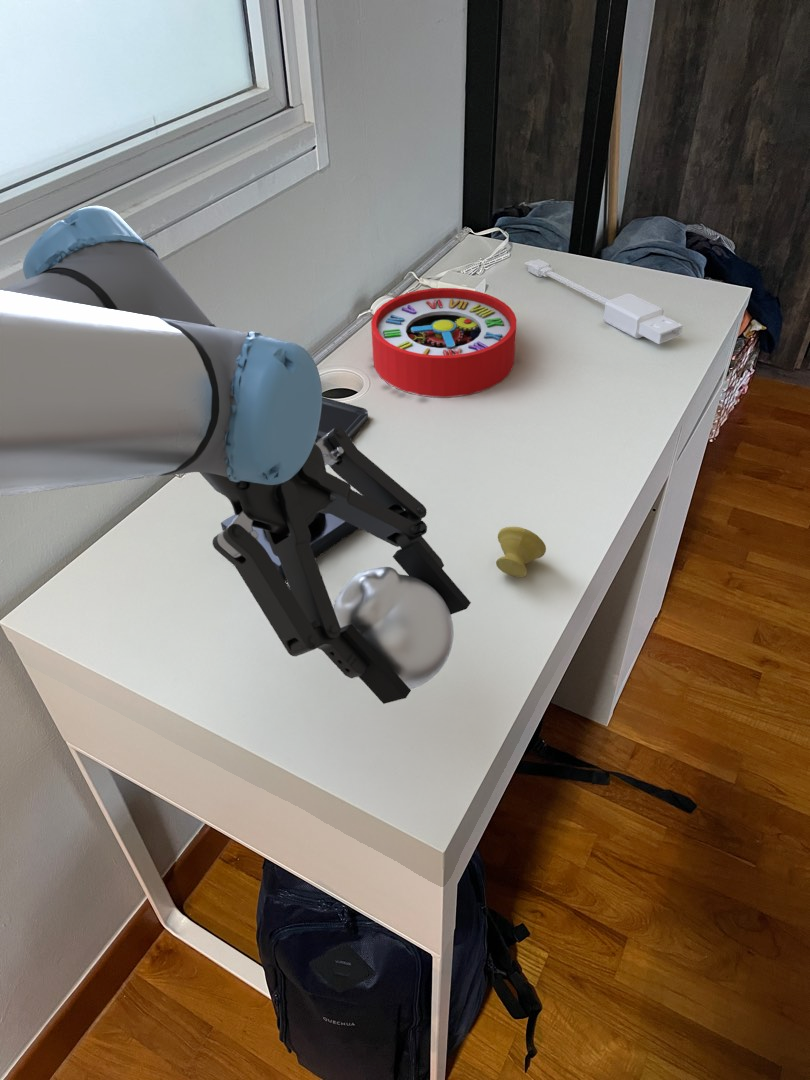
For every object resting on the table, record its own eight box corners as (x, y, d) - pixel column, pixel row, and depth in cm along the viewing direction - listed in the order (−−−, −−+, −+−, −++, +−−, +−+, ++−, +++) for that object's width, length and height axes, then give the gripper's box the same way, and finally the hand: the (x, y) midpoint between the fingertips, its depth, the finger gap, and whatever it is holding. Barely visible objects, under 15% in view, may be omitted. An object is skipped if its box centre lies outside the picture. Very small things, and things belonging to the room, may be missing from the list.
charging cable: (539, 268, 139) (540, 249, 136) (681, 340, 117) (685, 318, 115) (515, 276, 137) (516, 256, 135) (655, 350, 115) (659, 328, 113)
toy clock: (497, 281, 121) (533, 349, 106) (496, 318, 125) (530, 388, 110) (363, 295, 119) (380, 365, 104) (365, 331, 123) (383, 404, 108)
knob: (501, 546, 88) (503, 510, 84) (547, 559, 86) (551, 524, 82) (484, 574, 84) (486, 539, 81) (532, 589, 83) (536, 553, 79)
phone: (340, 442, 100) (240, 413, 106) (340, 450, 101) (241, 420, 106) (371, 409, 105) (274, 383, 111) (372, 417, 106) (275, 390, 111)
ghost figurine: (373, 610, 70) (366, 521, 63) (472, 652, 66) (476, 564, 59) (311, 684, 64) (296, 595, 57) (415, 735, 60) (412, 647, 54)
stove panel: (281, 581, 85) (276, 553, 82) (223, 537, 90) (217, 510, 87) (365, 524, 91) (363, 496, 88) (306, 486, 96) (302, 459, 93)
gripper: (288, 370, 66) (460, 574, 71) (92, 526, 53) (322, 767, 57) (337, 324, 61) (521, 549, 65) (133, 486, 47) (384, 756, 52)
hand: (428, 651), depth 61 cm, fingers closed on ghost figurine, 9 cm apart
